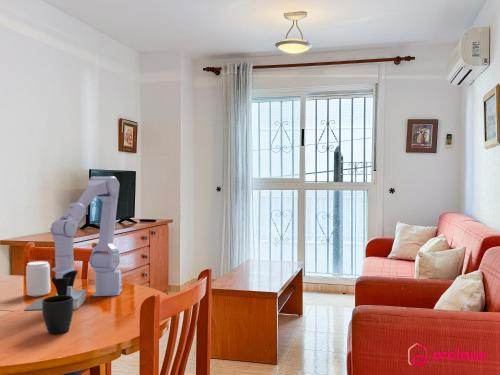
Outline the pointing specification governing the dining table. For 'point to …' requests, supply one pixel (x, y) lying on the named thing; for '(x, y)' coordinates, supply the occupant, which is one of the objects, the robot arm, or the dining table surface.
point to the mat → (35, 305)
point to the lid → (75, 293)
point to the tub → (78, 302)
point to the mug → (57, 313)
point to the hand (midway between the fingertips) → (65, 295)
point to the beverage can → (38, 278)
